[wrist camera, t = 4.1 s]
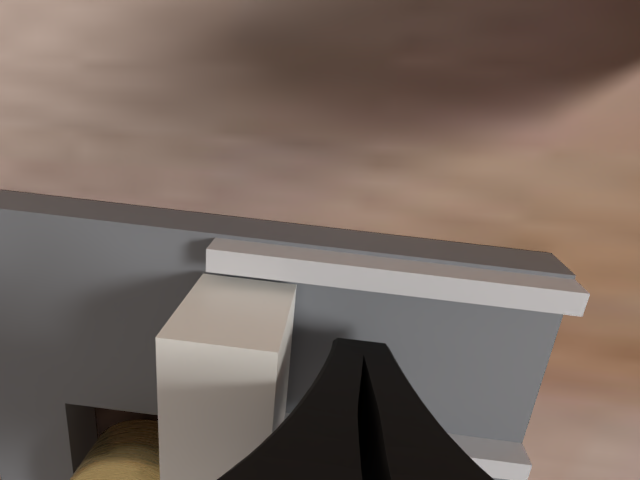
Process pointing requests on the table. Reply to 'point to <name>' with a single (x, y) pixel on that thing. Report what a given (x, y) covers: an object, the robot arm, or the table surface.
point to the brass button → (123, 453)
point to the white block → (222, 374)
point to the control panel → (308, 325)
